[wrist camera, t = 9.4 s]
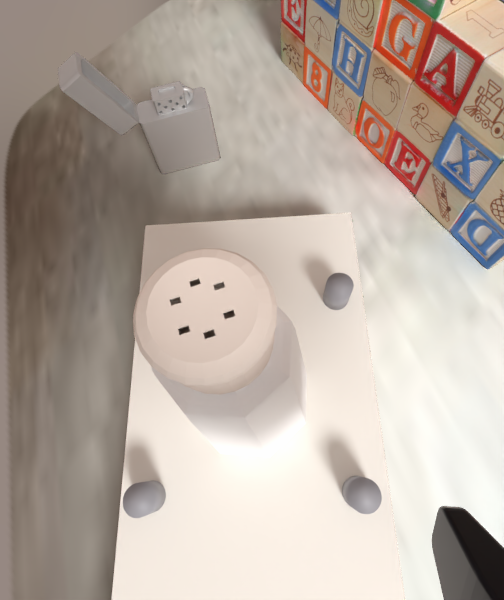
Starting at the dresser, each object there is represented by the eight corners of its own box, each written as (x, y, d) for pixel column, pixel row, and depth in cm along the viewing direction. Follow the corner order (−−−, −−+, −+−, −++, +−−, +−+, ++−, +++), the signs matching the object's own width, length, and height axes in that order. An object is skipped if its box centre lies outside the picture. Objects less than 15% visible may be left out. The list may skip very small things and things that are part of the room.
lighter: (215, 140, 27) (190, 21, 20) (221, 159, 26) (196, 43, 19) (115, 166, 27) (51, 55, 20) (118, 185, 26) (53, 78, 19)
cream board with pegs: (406, 738, 15) (453, 847, 11) (127, 733, 16) (69, 835, 12) (343, 241, 23) (356, 193, 19) (161, 252, 24) (135, 208, 20)
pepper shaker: (330, 435, 17) (402, 399, 6) (207, 479, 16) (82, 514, 6) (285, 321, 19) (288, 156, 9) (176, 358, 18) (43, 235, 8)
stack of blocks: (567, 220, 23) (844, -13, 12) (485, 274, 22) (698, 78, 11) (345, 27, 31) (382, -228, 19) (278, 61, 30) (274, -185, 18)
